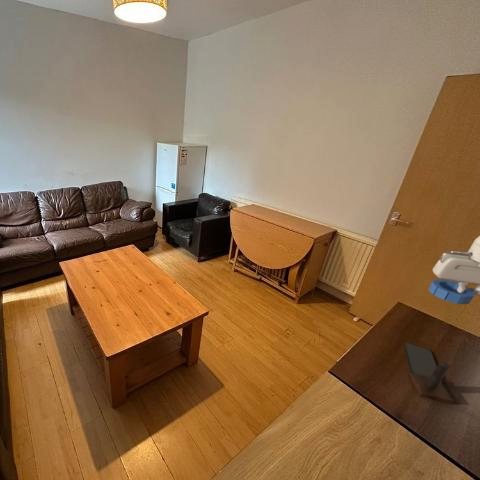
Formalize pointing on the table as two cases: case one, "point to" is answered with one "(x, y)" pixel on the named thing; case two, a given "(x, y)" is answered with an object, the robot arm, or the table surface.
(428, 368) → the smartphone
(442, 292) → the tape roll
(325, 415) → the table surface
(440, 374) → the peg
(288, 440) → the table surface
